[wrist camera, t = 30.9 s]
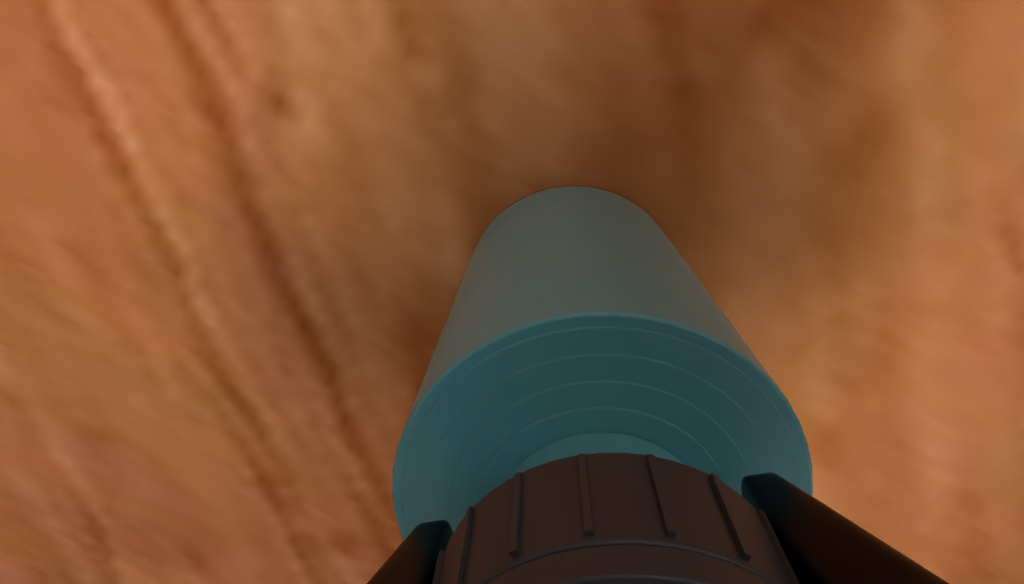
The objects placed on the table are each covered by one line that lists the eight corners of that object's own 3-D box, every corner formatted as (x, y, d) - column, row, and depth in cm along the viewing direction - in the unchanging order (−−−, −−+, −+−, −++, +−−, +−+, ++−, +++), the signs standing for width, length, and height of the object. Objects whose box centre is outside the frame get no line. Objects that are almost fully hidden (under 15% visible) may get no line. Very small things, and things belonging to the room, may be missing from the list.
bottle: (618, 413, 19) (727, 912, 8) (436, 338, 19) (265, 759, 7) (718, 239, 17) (1063, 571, 6) (516, 148, 17) (455, 321, 5)
